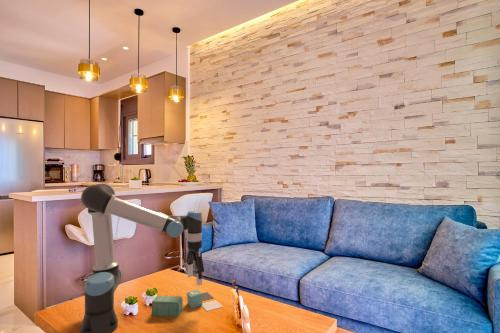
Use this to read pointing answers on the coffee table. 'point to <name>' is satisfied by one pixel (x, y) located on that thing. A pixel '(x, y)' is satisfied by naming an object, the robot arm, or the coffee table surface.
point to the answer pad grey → (211, 305)
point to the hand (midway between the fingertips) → (194, 280)
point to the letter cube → (194, 298)
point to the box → (167, 306)
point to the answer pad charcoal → (206, 296)
